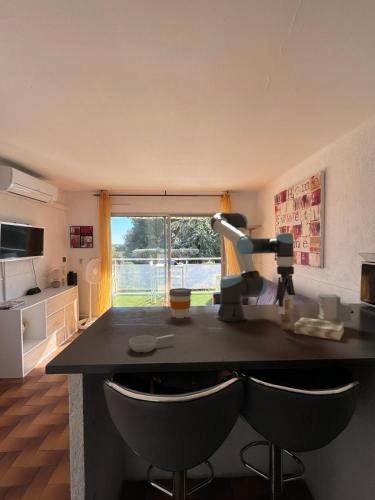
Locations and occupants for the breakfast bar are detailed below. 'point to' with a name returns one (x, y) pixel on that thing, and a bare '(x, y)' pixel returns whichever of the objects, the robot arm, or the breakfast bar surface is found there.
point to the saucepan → (145, 343)
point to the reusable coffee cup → (180, 302)
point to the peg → (286, 316)
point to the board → (319, 328)
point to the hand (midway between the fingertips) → (286, 311)
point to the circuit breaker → (333, 308)
